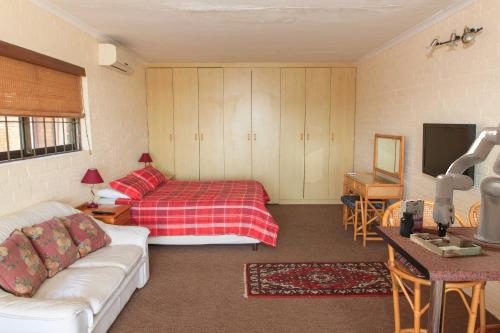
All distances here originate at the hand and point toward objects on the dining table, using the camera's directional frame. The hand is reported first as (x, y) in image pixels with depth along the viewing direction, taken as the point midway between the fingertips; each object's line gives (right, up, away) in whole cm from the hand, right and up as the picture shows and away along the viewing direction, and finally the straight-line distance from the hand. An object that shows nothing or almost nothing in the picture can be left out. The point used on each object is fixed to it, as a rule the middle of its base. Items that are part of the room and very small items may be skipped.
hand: (441, 236), depth 176 cm
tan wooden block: (+1, -4, -13) cm, 13 cm away
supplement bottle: (-14, -1, +8) cm, 16 cm away
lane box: (-4, -3, -8) cm, 10 cm away
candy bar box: (-7, 0, +18) cm, 20 cm away
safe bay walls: (-2, -4, -15) cm, 15 cm away
